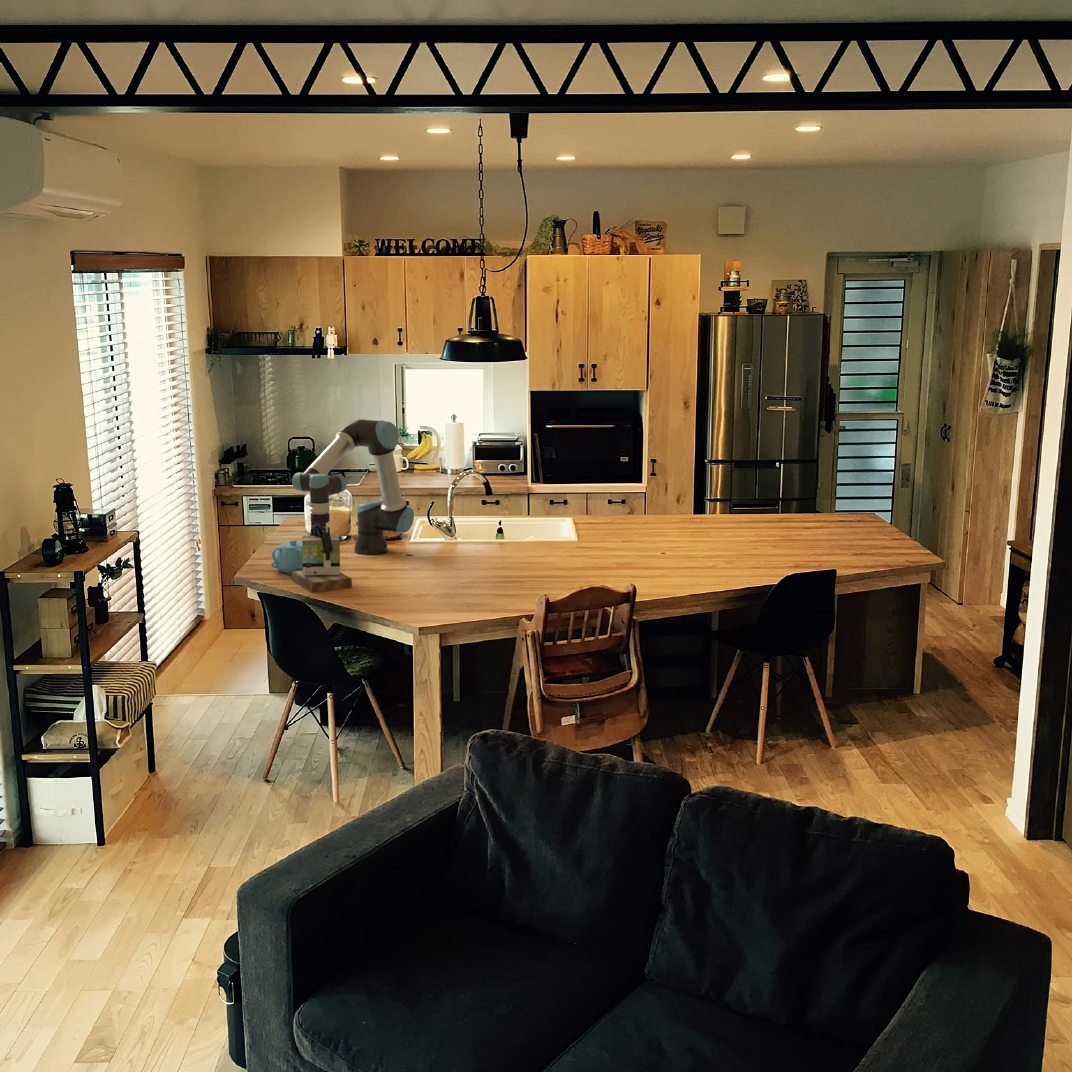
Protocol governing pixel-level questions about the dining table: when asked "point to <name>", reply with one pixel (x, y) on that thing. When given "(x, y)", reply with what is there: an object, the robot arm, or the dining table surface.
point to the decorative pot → (288, 557)
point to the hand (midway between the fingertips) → (321, 564)
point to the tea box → (319, 556)
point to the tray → (321, 581)
